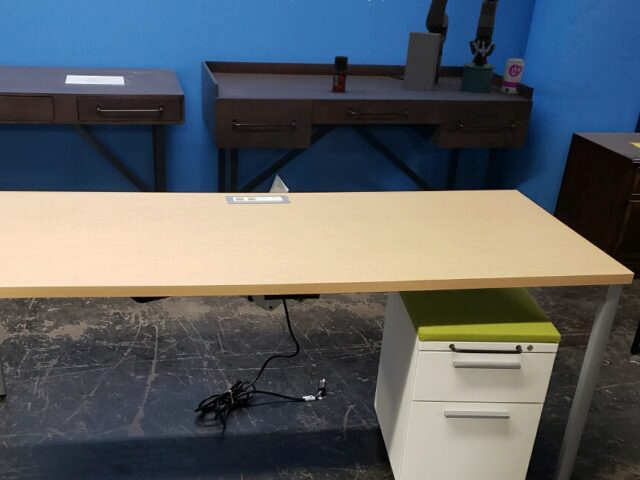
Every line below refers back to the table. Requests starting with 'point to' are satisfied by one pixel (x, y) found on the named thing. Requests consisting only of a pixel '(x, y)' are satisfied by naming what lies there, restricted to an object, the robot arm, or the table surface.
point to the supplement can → (512, 75)
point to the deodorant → (340, 74)
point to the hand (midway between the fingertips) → (479, 64)
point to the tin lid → (479, 64)
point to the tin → (476, 80)
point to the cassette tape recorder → (421, 60)
